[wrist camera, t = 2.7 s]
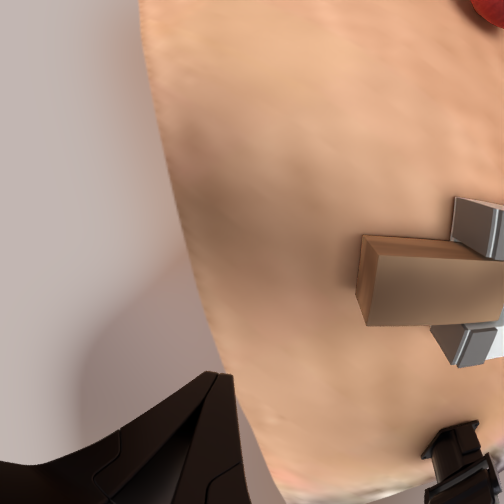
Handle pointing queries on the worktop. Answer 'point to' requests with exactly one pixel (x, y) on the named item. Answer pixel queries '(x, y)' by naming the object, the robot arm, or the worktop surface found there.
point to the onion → (490, 11)
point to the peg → (427, 283)
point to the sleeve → (489, 245)
